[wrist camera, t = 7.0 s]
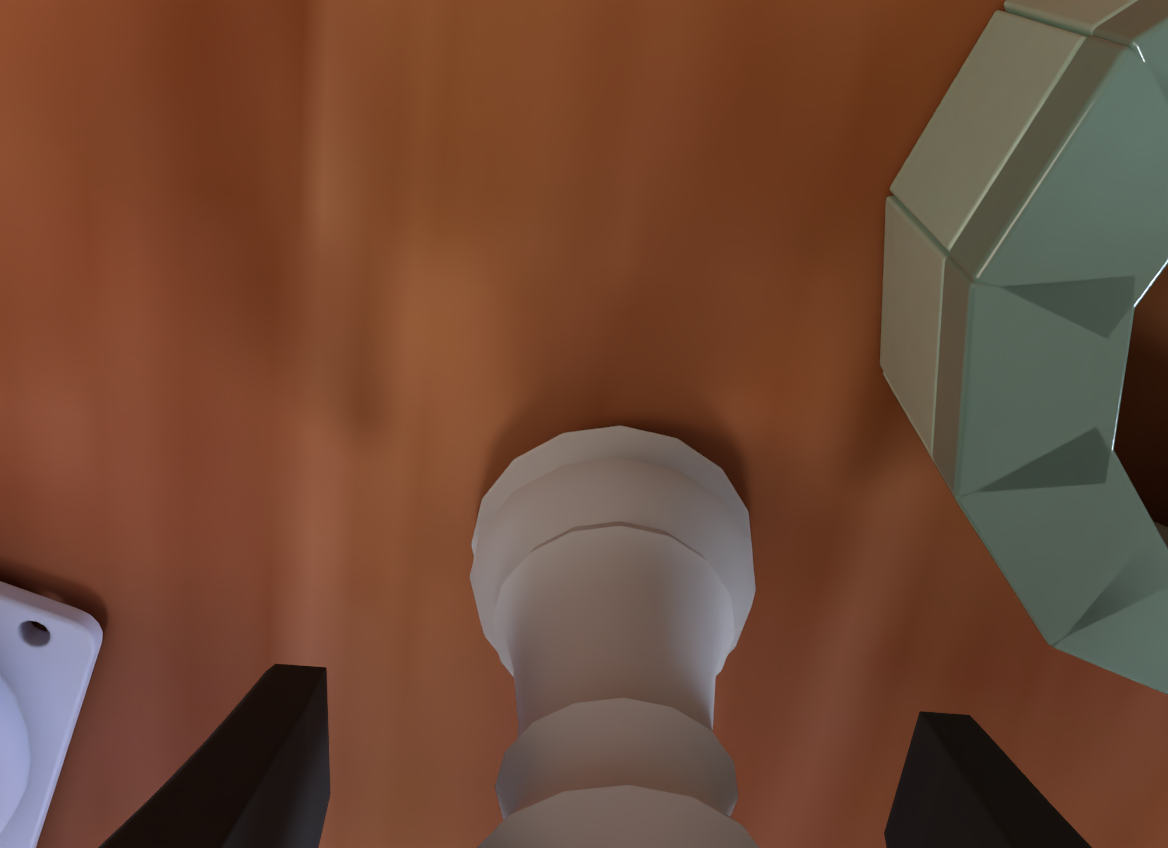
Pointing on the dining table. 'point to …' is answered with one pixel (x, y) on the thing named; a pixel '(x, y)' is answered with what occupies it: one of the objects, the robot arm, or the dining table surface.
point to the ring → (1041, 310)
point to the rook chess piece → (614, 639)
